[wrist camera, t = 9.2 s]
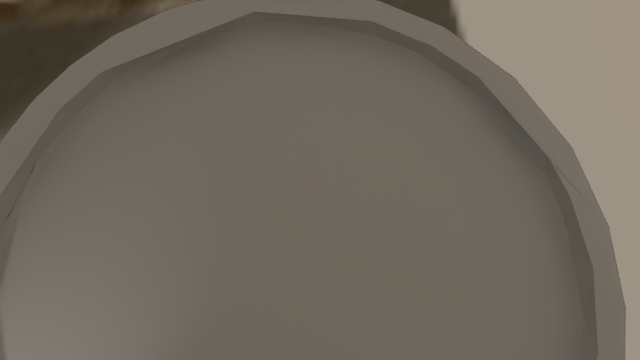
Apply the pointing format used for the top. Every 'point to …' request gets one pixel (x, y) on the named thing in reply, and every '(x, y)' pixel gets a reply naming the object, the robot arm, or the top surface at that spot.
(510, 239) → the disposable coffee cup
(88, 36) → the top surface
